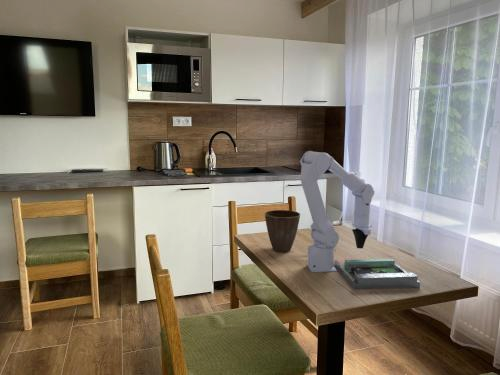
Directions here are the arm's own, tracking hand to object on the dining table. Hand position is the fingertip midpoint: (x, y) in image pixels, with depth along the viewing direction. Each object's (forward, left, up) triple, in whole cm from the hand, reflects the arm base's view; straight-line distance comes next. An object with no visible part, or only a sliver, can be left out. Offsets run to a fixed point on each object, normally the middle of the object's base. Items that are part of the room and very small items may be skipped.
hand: (359, 247), depth 155 cm
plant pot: (-28, +17, -6) cm, 33 cm away
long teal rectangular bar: (0, -10, -6) cm, 12 cm away
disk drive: (+1, -17, -6) cm, 18 cm away
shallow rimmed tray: (0, -14, -6) cm, 16 cm away
